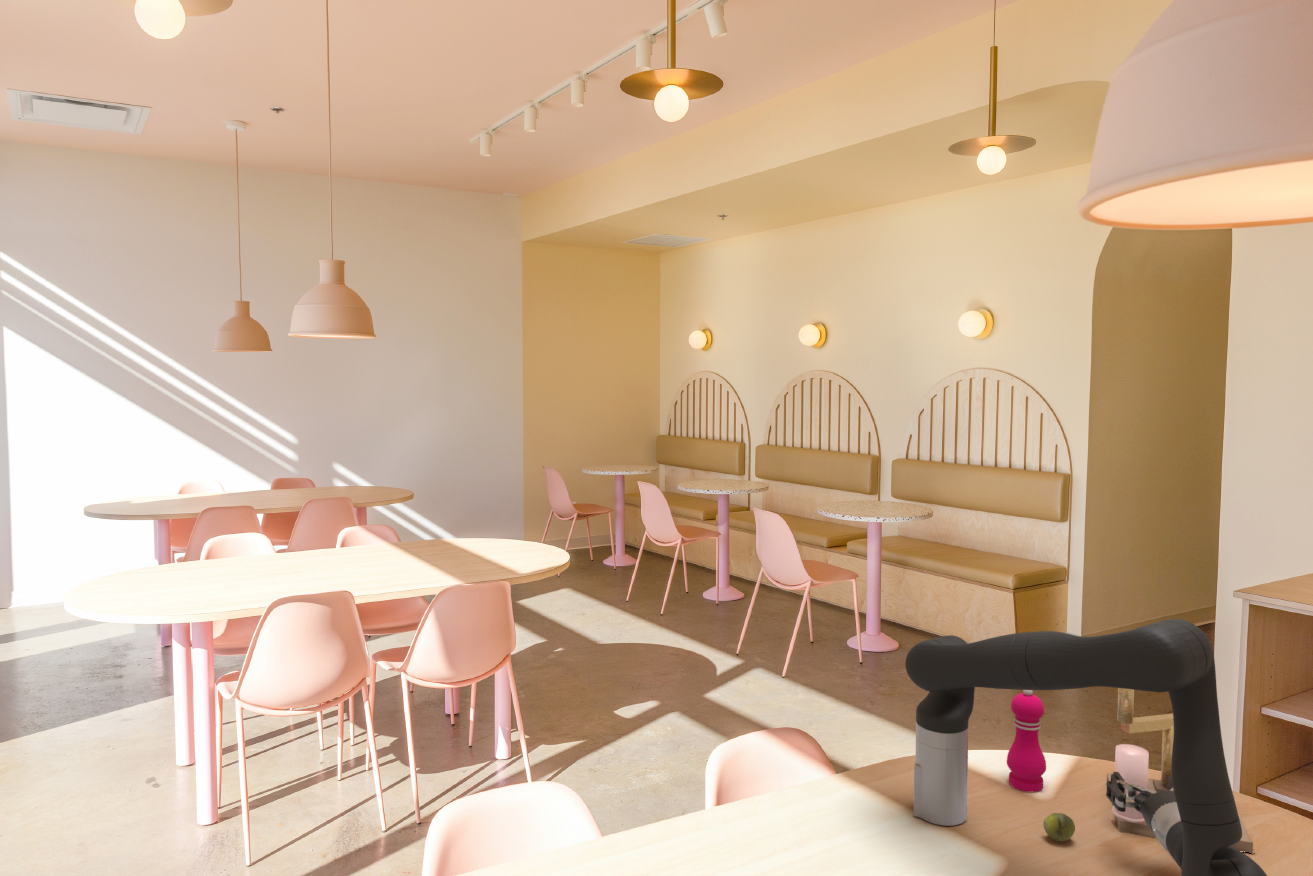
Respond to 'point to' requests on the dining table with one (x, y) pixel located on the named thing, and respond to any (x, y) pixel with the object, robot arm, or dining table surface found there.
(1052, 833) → the lime
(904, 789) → the dining table surface
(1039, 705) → the pepper mill
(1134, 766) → the cover
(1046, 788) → the dining table surface
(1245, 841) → the base
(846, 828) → the dining table surface
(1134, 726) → the brass crank handle
